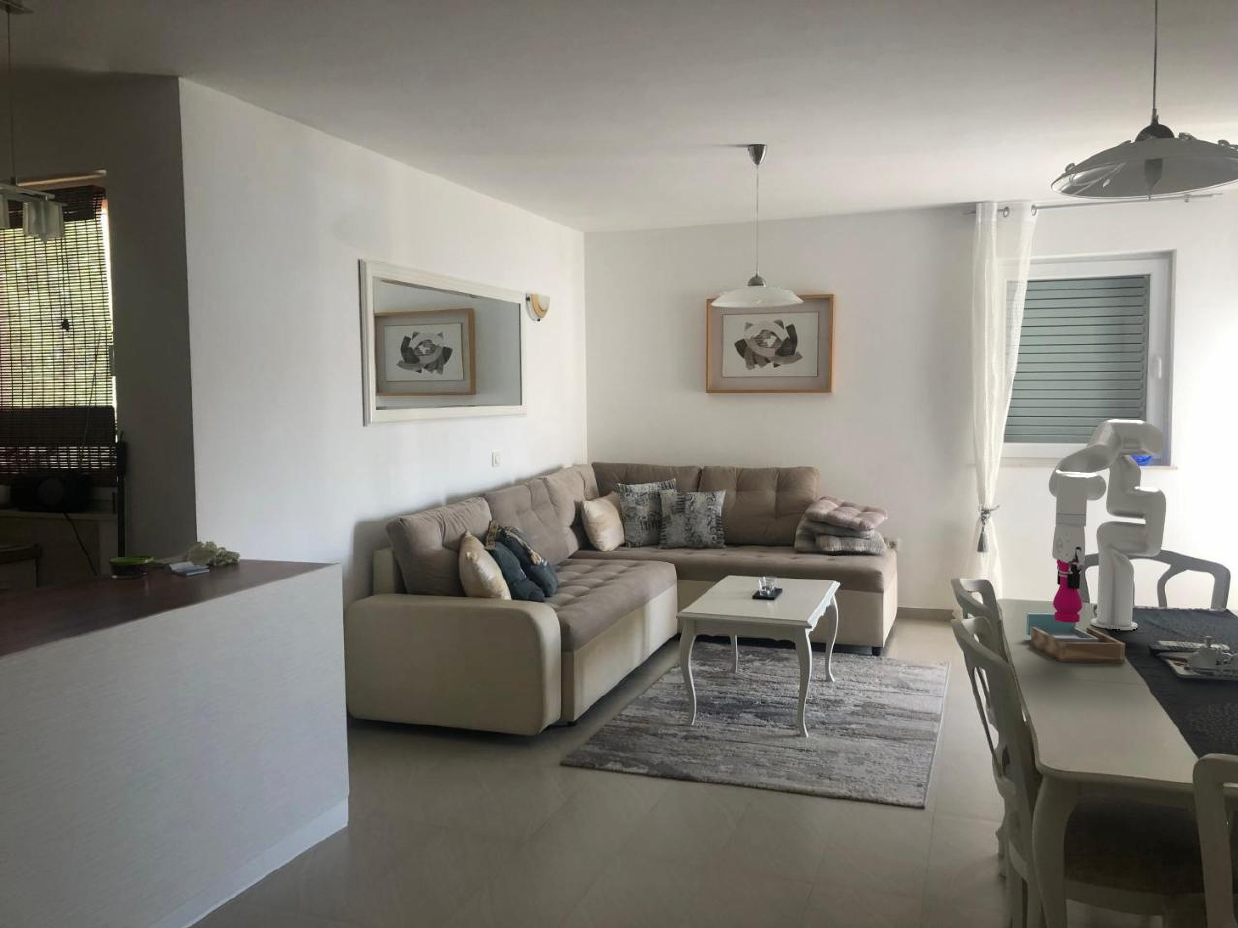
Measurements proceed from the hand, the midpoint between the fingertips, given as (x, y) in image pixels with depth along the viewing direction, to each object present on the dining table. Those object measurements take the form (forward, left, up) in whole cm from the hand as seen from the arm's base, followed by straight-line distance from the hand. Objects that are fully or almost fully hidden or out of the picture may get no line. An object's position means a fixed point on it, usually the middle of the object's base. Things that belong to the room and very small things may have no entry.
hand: (1068, 585), depth 268 cm
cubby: (+7, 0, -17) cm, 18 cm away
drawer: (-2, 0, -16) cm, 16 cm away
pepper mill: (0, 0, -10) cm, 10 cm away
